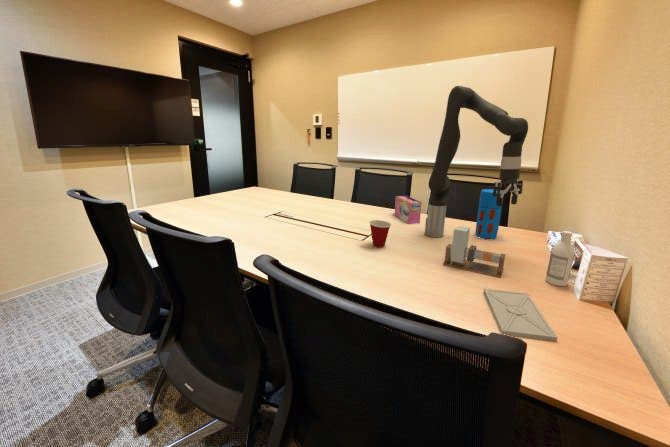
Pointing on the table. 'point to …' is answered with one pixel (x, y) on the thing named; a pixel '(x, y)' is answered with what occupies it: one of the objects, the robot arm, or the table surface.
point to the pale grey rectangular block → (459, 243)
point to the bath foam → (561, 261)
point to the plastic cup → (379, 232)
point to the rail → (476, 266)
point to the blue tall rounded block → (488, 215)
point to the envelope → (518, 315)
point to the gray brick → (471, 253)
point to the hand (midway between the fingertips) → (506, 205)
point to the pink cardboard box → (408, 209)
